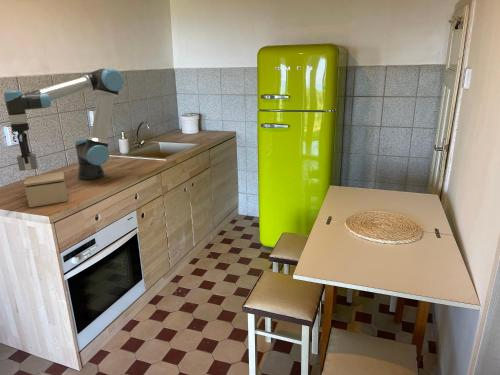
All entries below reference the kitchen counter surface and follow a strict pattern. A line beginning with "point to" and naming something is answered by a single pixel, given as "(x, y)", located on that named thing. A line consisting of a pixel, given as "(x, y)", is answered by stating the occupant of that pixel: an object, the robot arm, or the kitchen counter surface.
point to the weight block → (32, 160)
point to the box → (46, 193)
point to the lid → (44, 179)
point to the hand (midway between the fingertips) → (29, 167)
